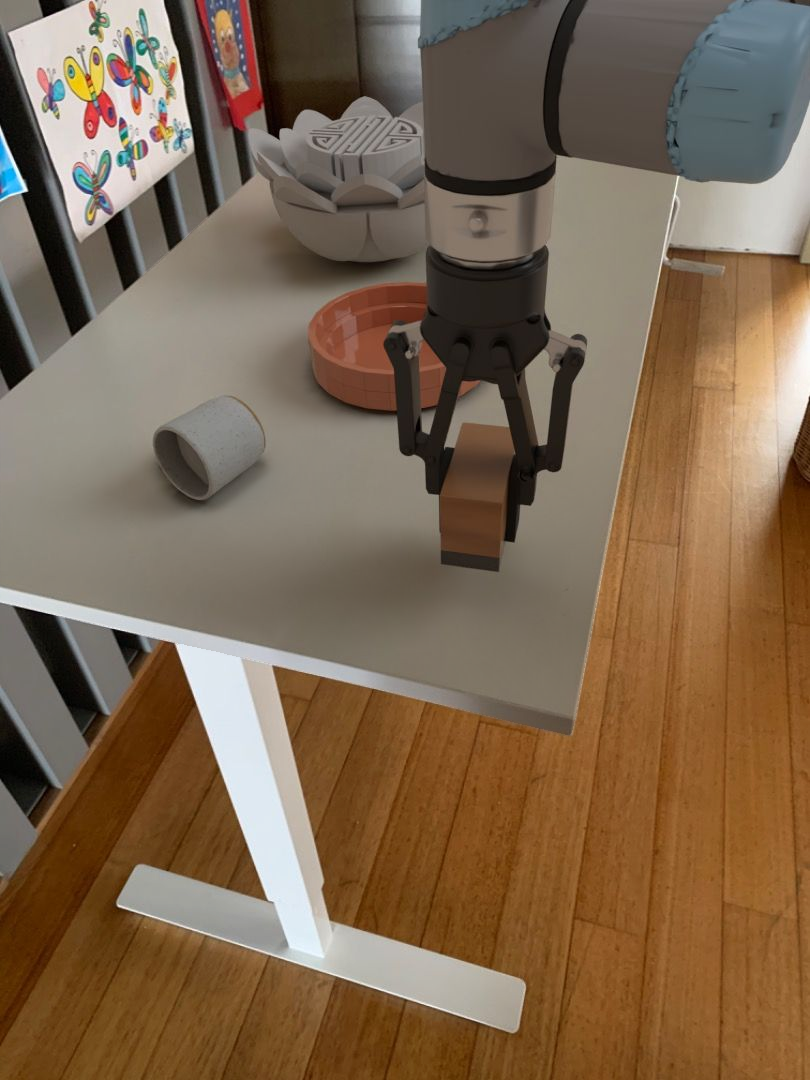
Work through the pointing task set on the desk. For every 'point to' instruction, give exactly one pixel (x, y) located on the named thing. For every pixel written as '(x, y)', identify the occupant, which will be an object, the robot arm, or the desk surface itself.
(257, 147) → the decorative bowl
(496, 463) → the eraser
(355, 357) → the terracotta bowl
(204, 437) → the ceramic mug
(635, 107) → the robot arm
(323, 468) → the desk surface
